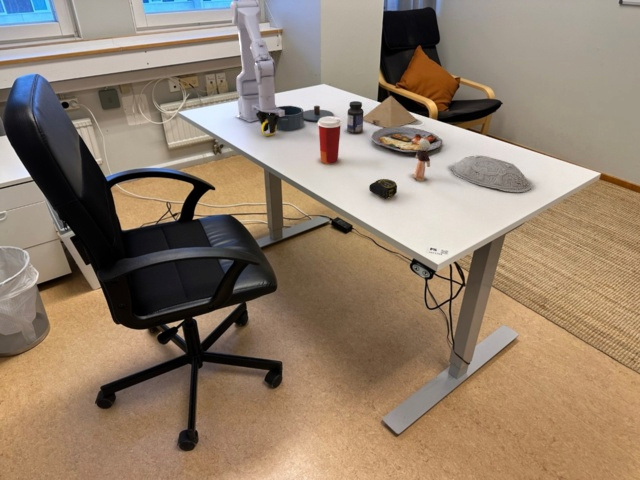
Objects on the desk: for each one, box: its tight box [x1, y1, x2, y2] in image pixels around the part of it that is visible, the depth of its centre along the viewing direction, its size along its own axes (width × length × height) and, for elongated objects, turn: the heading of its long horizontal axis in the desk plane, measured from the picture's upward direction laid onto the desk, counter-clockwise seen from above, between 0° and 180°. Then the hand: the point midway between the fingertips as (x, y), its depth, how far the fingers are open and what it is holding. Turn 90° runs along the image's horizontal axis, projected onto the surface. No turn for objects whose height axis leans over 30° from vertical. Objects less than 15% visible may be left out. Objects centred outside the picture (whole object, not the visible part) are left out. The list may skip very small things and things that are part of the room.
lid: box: [303, 105, 335, 122], centre depth 187 cm, size 14×14×4 cm
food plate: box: [370, 126, 443, 154], centre depth 161 cm, size 25×23×4 cm
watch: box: [260, 119, 277, 137], centre depth 168 cm, size 6×3×6 cm, turn 127°
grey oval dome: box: [450, 154, 532, 193], centre depth 137 cm, size 16×25×7 cm, turn 44°
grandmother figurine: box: [411, 139, 431, 182], centre depth 134 cm, size 8×4×13 cm, turn 29°
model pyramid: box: [363, 95, 418, 128], centre depth 182 cm, size 17×17×10 cm
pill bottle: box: [346, 100, 364, 135], centre depth 170 cm, size 6×6×11 cm
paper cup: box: [316, 116, 342, 165], centre depth 145 cm, size 8×8×14 cm
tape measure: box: [368, 178, 398, 200], centre depth 127 cm, size 7×7×4 cm
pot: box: [276, 105, 305, 132], centre depth 177 cm, size 13×18×6 cm
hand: (269, 131), depth 169 cm, fingers closed on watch, 3 cm apart
